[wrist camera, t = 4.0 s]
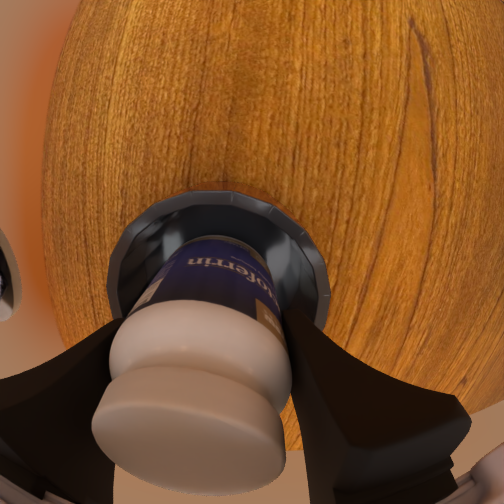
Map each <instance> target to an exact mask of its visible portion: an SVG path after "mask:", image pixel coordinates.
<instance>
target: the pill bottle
mask: <svg viewBox="0 0 504 504" xmlns="http://www.w3.org/2000/svg"><path fill="white" fill-rule="evenodd" d="M109 367H110V374H111V378H112V382H111V383H110V384H109V385H108V386H107V388H106V390H105V392H104V394H103V396H102V399H101V401H100V403H99V405H98V407H97V409H96V411H95V413H94V416H93V419H92V433H93V435H94V438H95V440H96V442H97V444H98V445H99V447H100V448H101V450H102V451H103V452H104V453H105V454H106V455H107V457H108V458H109V459H111V460H112V461H113V462H114V463H115V464H117V465H118V466H119V467H121V468H122V469H124V470H125V471H127V472H129V473H130V474H132V475H134V476H136V477H137V478H139V479H141V480H144V481H146V482H148V483H151V484H153V485H156V486H158V487H162V488H165V489H168V490H172V491H177V492H181V493H187V494H194V495H204V496H226V495H234V494H241V493H245V492H250V491H253V490H257V489H259V488H262V487H264V486H266V485H268V484H269V483H271V482H273V481H274V480H275V479H276V478H278V476H279V475H280V474H281V473H282V471H283V469H284V467H285V462H286V452H285V440H284V431H283V424H282V421H281V418H280V416H279V414H280V413H281V412H282V410H283V409H284V407H285V406H286V403H287V401H288V399H289V396H290V392H291V388H292V369H291V362H290V357H289V352H288V347H287V342H286V338H285V333H284V329H283V324H282V319H281V314H280V310H279V305H278V300H277V296H276V291H275V286H274V282H273V279H272V275H271V272H270V270H269V268H268V266H267V264H266V262H265V261H264V259H263V258H262V257H261V256H260V254H259V253H258V252H257V251H256V250H254V249H253V248H252V247H251V246H249V245H247V244H246V243H244V242H242V241H240V240H237V239H235V238H231V237H227V236H221V235H207V236H202V237H198V238H195V239H193V240H190V241H188V242H186V243H185V244H183V245H182V246H180V247H179V248H178V249H177V250H176V251H175V252H174V253H173V254H172V255H171V256H170V257H169V258H168V260H167V261H166V262H165V264H164V265H163V267H162V268H161V269H160V271H159V272H158V273H157V275H156V276H155V277H154V279H153V280H152V282H151V283H150V284H149V286H148V287H147V289H146V290H145V292H144V293H143V294H142V296H141V297H140V299H139V300H138V301H137V303H136V304H135V306H134V307H133V309H132V310H131V312H130V313H129V314H128V316H127V317H126V319H125V320H124V321H123V323H122V324H121V326H120V328H119V330H118V331H117V333H116V335H115V337H114V340H113V342H112V346H111V349H110V356H109Z"/></svg>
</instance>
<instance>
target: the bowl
mask: <svg viewBox="0 0 504 504" xmlns="http://www.w3.org/2000/svg"><path fill="white" fill-rule="evenodd" d="M207 235H221V236H227V237H231V238H235V239H237V240H240V241H242V242H244V243H246V244H247V245H249V246H251V247H252V248H253V249H254V250H256V251H257V252H258V253H259V254H260V256H261V257H262V258H263V259H264V261H265V262H266V264H267V266H268V268H269V270H270V272H271V275H272V279H273V282H274V286H275V291H276V296H277V300H278V305H279V310H280V314H281V319H282V310H290V309H300V310H301V311H302V312H303V313H304V314H305V315H306V316H307V318H308V319H309V320H310V321H311V322H312V323H313V324H314V325H315V326H316V327H318V328H319V329H320V330H321V331H322V330H323V329H324V327H325V324H326V320H327V315H328V309H329V304H330V298H331V290H330V285H329V279H328V274H327V269H326V264H325V261H324V258H323V257H322V255H321V254H320V252H319V250H318V249H317V247H316V245H315V244H314V242H313V240H312V239H311V237H310V236H309V234H308V232H307V231H306V230H305V228H304V227H303V226H302V225H301V224H300V222H299V221H298V220H297V219H296V218H295V216H294V215H293V214H292V213H291V212H290V211H289V210H288V209H287V208H286V207H285V206H283V205H282V204H281V203H280V202H278V201H277V200H276V199H275V198H273V197H272V196H270V195H269V194H268V193H266V192H264V191H261V190H259V189H257V188H254V187H252V186H249V185H245V184H241V183H238V182H227V181H216V182H203V183H200V184H197V185H194V186H191V187H188V188H186V189H183V190H180V191H177V192H175V193H173V194H171V195H169V196H167V197H165V198H164V199H162V200H160V201H158V202H156V203H154V204H152V205H151V206H150V207H149V208H148V209H146V210H145V211H144V212H143V213H142V214H140V215H139V216H138V217H137V218H136V219H135V220H133V221H132V222H131V223H130V224H129V225H128V226H127V227H126V228H125V230H124V231H123V233H122V235H121V237H120V239H119V241H118V242H117V244H116V246H115V248H114V250H113V252H112V254H111V257H110V261H109V268H108V276H107V284H106V288H107V294H108V299H109V304H110V308H111V313H112V317H113V319H116V318H126V317H127V316H128V314H129V313H130V312H131V310H132V309H133V307H134V306H135V304H136V303H137V301H138V300H139V299H140V297H141V296H142V294H143V293H144V292H145V290H146V289H147V287H148V286H149V284H150V283H151V282H152V280H153V279H154V277H155V276H156V275H157V273H158V272H159V271H160V269H161V268H162V267H163V265H164V264H165V262H166V261H167V260H168V258H169V257H170V256H171V255H172V254H173V253H174V252H175V251H176V250H177V249H178V248H179V247H180V246H182V245H183V244H185V243H186V242H188V241H190V240H193V239H195V238H198V237H202V236H207Z"/></svg>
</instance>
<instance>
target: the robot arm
mask: <svg viewBox="0 0 504 504" xmlns="http://www.w3.org/2000/svg"><path fill="white" fill-rule="evenodd" d="M7 288H8V282H7V280H6V279H5V277H4V275H3V274H2V272H1V271H0V300H1V299H2V297H3V295H4V293H5V292H6V290H7ZM125 319H126V318H116V319H114V320H113V321H111V322H109V323H107V324H106V325H104V326H103V327H101V328H100V329H98V330H97V331H95V332H94V333H92V334H91V335H89V336H88V337H86V338H85V339H83V340H82V341H81V342H79V343H77V344H76V345H74V346H73V347H71V348H70V349H68V350H66V351H65V352H63V353H62V354H60V355H58V356H56V357H55V358H53V359H51V360H49V361H48V362H45V363H43V364H41V365H39V366H37V367H35V368H32V369H30V370H27V371H25V372H22V373H20V374H17V375H14V376H11V377H8V378H4V379H0V504H113V482H114V470H115V463H114V462H113V461H112V460H111V459H109V458H108V457H107V455H106V454H105V453H104V452H103V451H102V450H101V448H100V447H99V445H98V444H97V442H96V440H95V438H94V435H93V433H92V419H93V416H94V413H95V411H96V409H97V407H98V405H99V403H100V401H101V399H102V396H103V394H104V392H105V390H106V388H107V386H108V385H109V384H110V383H111V382H112V378H111V374H110V367H109V356H110V349H111V346H112V342H113V340H114V337H115V335H116V333H117V331H118V330H119V328H120V326H121V324H122V323H123V321H124V320H125ZM282 324H283V329H284V333H285V338H286V342H287V347H288V352H289V357H290V362H291V369H292V388H291V392H290V393H291V396H292V400H293V404H294V407H295V411H296V414H297V418H298V422H299V426H300V430H301V436H302V442H303V449H304V456H305V463H306V471H307V479H308V487H309V496H310V504H504V442H503V443H501V444H500V445H499V446H497V447H496V448H495V449H493V450H492V451H490V452H489V453H488V454H486V455H485V456H484V457H483V458H481V459H480V460H479V461H478V462H477V463H476V464H475V465H474V466H473V467H472V468H471V470H470V471H468V472H467V473H465V474H463V475H462V476H460V477H458V478H457V479H454V477H453V475H452V473H451V471H450V469H451V468H452V467H453V466H454V463H453V461H452V459H451V457H450V455H451V454H452V453H453V452H454V450H455V449H456V448H457V447H458V445H459V444H460V443H461V442H462V441H463V439H464V438H465V436H466V435H467V433H468V432H469V430H470V427H471V423H472V421H471V418H470V416H469V415H468V413H467V412H466V410H465V409H464V407H463V406H462V405H461V403H460V402H459V400H458V399H457V398H456V397H455V395H451V394H446V393H441V392H437V391H432V390H428V389H424V388H421V387H418V386H415V385H412V384H409V383H406V382H403V381H400V380H398V379H395V378H393V377H391V376H389V375H386V374H384V373H382V372H380V371H378V370H376V369H374V368H372V367H370V366H368V365H367V364H365V363H363V362H362V361H360V360H358V359H357V358H355V357H353V356H352V355H350V354H349V353H348V352H346V351H345V350H343V349H342V348H341V347H339V346H338V345H337V344H336V343H334V342H333V341H332V340H331V339H330V338H329V337H327V336H326V335H325V334H324V333H323V332H322V331H321V330H320V329H319V328H318V327H316V326H315V325H314V324H313V323H312V322H311V321H310V320H309V319H308V318H307V316H306V315H305V314H304V313H303V312H302V311H301V310H300V309H290V310H282Z"/></svg>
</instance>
